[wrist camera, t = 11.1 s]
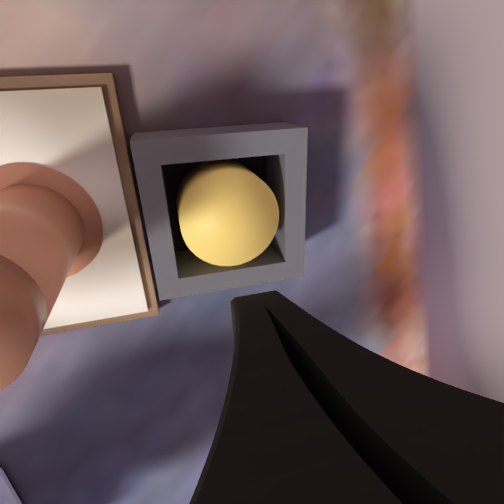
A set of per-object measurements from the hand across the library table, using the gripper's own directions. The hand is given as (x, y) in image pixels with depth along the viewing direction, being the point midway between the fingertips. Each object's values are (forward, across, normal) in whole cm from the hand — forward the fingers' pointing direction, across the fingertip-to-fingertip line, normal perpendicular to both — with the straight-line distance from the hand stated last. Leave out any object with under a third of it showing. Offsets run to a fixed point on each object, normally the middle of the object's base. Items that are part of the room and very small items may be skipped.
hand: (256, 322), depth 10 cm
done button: (+9, 0, -1) cm, 9 cm away
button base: (+9, 0, -1) cm, 9 cm away
